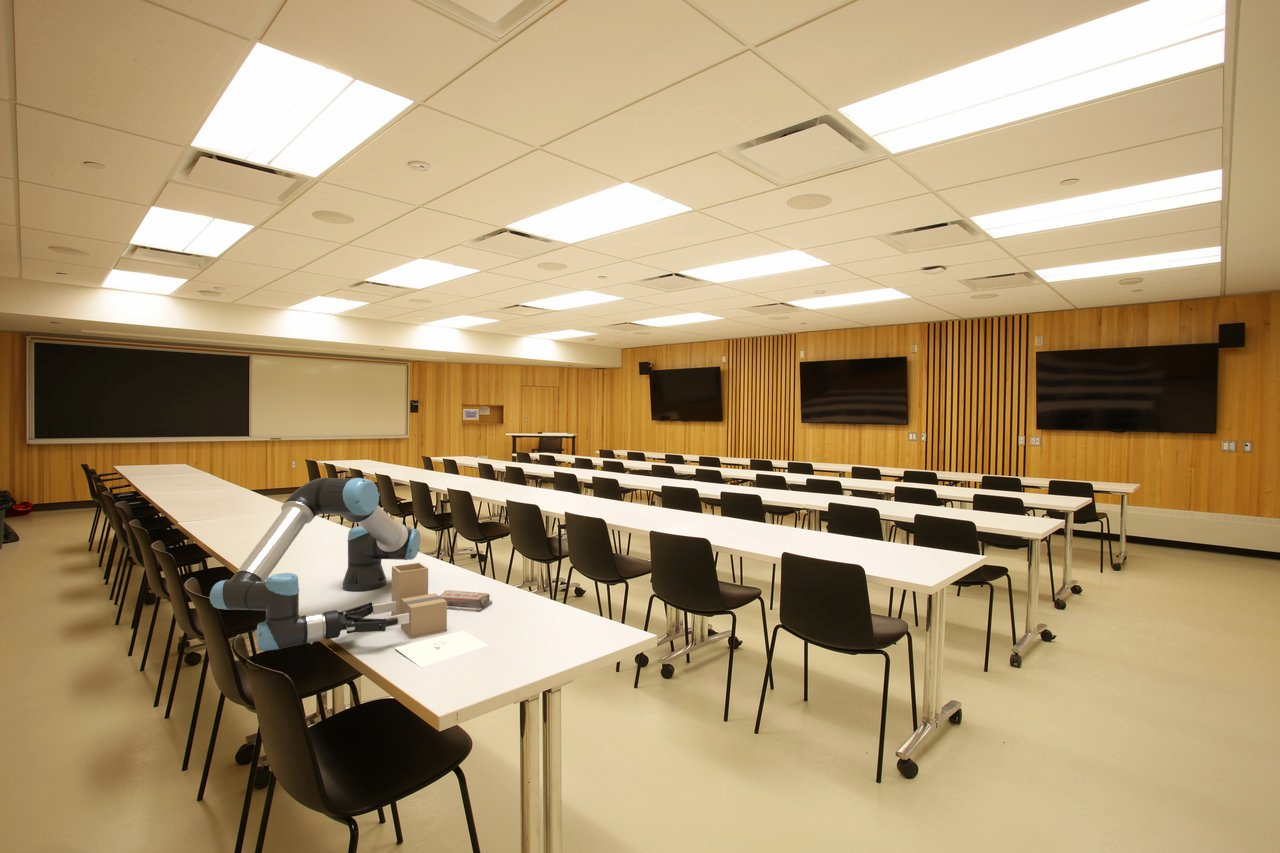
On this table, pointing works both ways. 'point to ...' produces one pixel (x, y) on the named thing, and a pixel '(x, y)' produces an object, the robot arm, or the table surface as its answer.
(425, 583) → the tan tall box
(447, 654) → the paper sheet
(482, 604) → the packaged product
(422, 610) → the brown cardboard block
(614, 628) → the table surface
